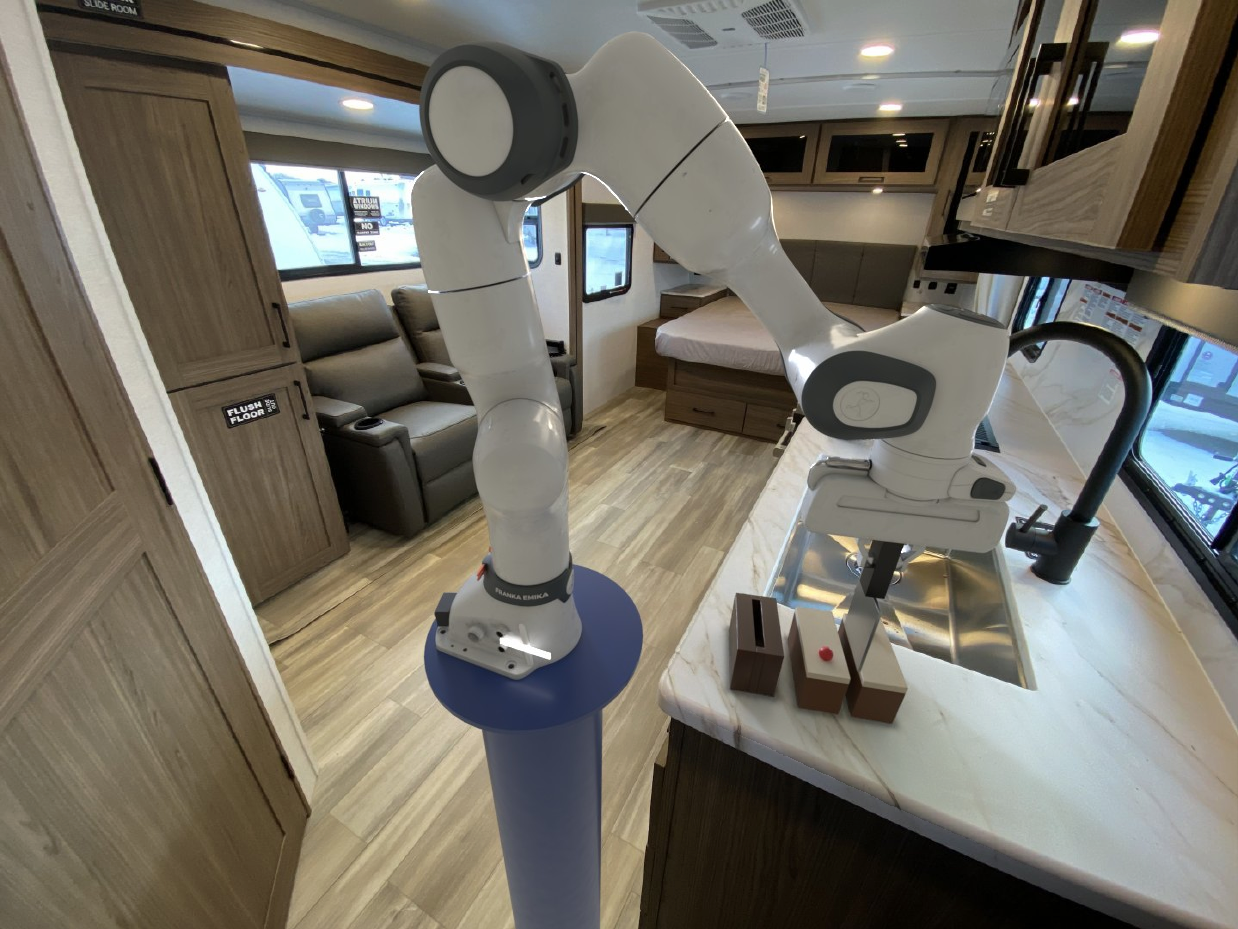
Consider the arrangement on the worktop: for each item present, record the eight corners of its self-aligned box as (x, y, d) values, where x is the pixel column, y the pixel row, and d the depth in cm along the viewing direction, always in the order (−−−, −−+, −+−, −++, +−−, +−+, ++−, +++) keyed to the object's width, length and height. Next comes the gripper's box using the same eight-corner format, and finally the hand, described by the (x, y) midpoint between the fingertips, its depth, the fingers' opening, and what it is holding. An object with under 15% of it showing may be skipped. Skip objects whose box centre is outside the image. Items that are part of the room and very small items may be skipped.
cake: (797, 707, 66) (810, 664, 62) (787, 639, 77) (797, 598, 73) (892, 724, 64) (912, 680, 61) (868, 652, 75) (884, 610, 71)
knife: (849, 670, 62) (892, 549, 53) (837, 623, 69) (872, 509, 60) (868, 673, 62) (914, 552, 53) (853, 626, 69) (891, 512, 60)
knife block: (729, 689, 69) (737, 649, 65) (728, 630, 78) (735, 592, 74) (774, 697, 68) (784, 656, 64) (767, 636, 77) (776, 598, 73)
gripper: (818, 468, 51) (793, 571, 58) (1035, 490, 48) (983, 597, 55) (808, 442, 57) (787, 540, 63) (1003, 461, 54) (960, 561, 60)
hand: (879, 566), depth 59 cm, fingers closed on knife, 2 cm apart
